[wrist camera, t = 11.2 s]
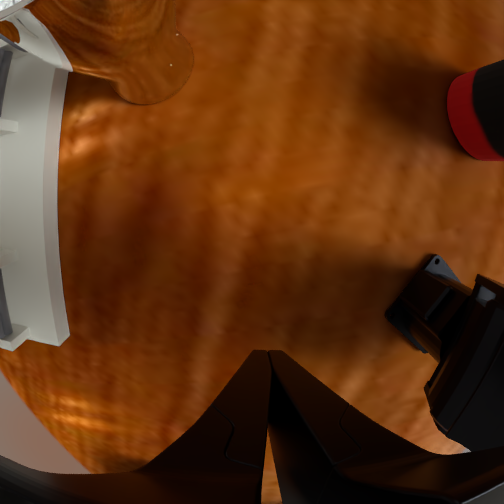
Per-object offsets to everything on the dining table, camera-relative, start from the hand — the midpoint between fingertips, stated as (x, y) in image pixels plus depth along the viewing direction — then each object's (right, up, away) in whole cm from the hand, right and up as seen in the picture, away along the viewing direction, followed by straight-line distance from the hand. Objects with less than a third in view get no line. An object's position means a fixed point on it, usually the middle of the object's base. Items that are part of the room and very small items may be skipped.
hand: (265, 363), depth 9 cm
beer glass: (-7, +16, +10) cm, 20 cm away
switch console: (-19, +8, +11) cm, 23 cm away
